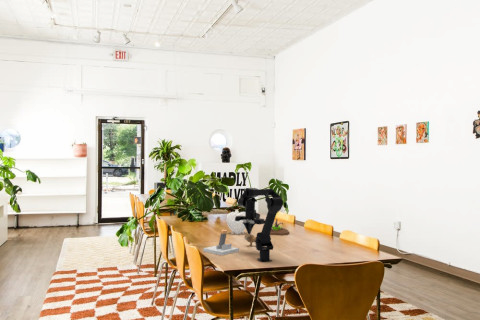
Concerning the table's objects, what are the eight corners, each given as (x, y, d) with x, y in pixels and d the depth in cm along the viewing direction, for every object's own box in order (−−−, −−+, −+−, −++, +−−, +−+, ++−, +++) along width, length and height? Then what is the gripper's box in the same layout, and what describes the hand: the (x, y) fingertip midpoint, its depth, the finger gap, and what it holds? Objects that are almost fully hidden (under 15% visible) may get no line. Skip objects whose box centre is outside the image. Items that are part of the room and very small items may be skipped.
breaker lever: (224, 247, 280) (227, 230, 279) (219, 249, 277) (222, 231, 275) (222, 246, 282) (225, 229, 280) (217, 247, 278) (220, 230, 276)
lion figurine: (244, 247, 294) (244, 233, 294) (244, 245, 300) (244, 232, 300) (266, 247, 294) (266, 233, 294) (266, 245, 300) (266, 232, 300)
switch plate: (239, 251, 280) (239, 243, 280) (222, 255, 268) (222, 247, 268) (220, 247, 290) (220, 240, 290) (203, 251, 278) (203, 243, 278)
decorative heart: (227, 235, 335) (228, 213, 334) (224, 233, 345) (224, 211, 345) (250, 235, 340) (251, 212, 340) (246, 232, 350) (246, 210, 350)
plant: (289, 232, 359) (289, 218, 359) (289, 236, 340) (289, 221, 339) (264, 231, 361) (264, 217, 361) (263, 235, 342) (263, 220, 342)
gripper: (270, 208, 271) (269, 234, 272) (245, 205, 282) (244, 230, 283) (260, 210, 262) (259, 236, 263) (234, 207, 273) (234, 232, 274)
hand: (249, 233), depth 271 cm, fingers closed
